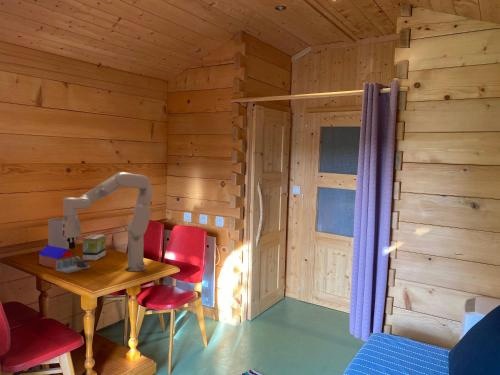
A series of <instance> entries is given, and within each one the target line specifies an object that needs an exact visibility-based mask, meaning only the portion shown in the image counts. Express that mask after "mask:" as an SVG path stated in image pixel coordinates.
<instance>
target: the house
mask: <svg viewBox="0 0 500 375" xmlns="http://www.w3.org/2000/svg"><path fill="white" fill-rule="evenodd" d="M38 255H39V256H38V257H39V258H38V259H39V263H38V264H39V265H40V264H41V266H44V267H47V268H51V269H56V261H60V260H65V259H69V258H73V257H76V254H75V253H74V252H73V251H71V250H70V249H69V250H68V249H64V248H59V247H54V246H49V245H46V246H45V247H44V248H43V249H42V250H41V251H40V252H39V253H38Z"/></svg>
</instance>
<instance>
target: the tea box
mask: <svg viewBox="0 0 500 375" xmlns="http://www.w3.org/2000/svg"><path fill="white" fill-rule="evenodd" d="M106 240H107V235H106V234H90V235H88V236H85V237H83V238H82V259H85V260H87V261H97V260H99V259H101V258H102V257H105V256H106V253H107V252H106V249H107V248H106V246H107V243H106Z"/></svg>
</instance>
